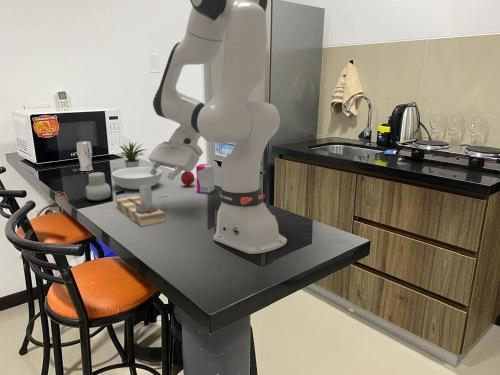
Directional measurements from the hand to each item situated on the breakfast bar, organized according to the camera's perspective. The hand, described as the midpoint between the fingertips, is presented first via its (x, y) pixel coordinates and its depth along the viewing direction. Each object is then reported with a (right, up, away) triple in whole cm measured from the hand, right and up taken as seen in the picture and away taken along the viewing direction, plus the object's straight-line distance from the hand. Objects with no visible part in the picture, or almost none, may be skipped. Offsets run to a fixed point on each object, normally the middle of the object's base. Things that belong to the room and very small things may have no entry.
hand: (160, 176), depth 128 cm
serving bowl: (-19, -4, +38) cm, 43 cm away
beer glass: (-54, +4, +67) cm, 86 cm away
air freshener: (-29, -8, +21) cm, 37 cm away
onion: (+3, -3, +40) cm, 40 cm away
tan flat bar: (-8, -13, +4) cm, 16 cm away
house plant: (-29, +3, +63) cm, 70 cm away
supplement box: (+12, -6, +31) cm, 34 cm away
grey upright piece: (-4, -11, -3) cm, 12 cm away
